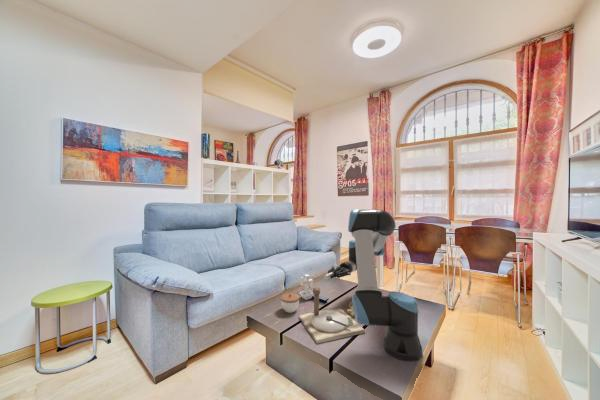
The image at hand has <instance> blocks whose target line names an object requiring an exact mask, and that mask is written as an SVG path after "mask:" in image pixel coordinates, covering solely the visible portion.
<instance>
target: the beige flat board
mask: <svg viewBox="0 0 600 400" xmlns="http://www.w3.org/2000/svg"><path fill="white" fill-rule="evenodd" d="M329 310H330V311H336V312H339V313H342V314H343V315H345V316H346V317H347V319H348V326H349V327H346V328H345V329H344V330H342V331H338V332H324V331H321V330H318V329H316V328H315V327H313V326H312V324H311V316H312V315H313V314H314V312H309V313H303V314H299V317H298V318H299V321H301V323H302V324H303V326H304V327H305V329H306V330H307V331H308V333H309V334H310V335H311V337H312V338H313V340H314V342H315V343H316V344H322V343H326V342H331V341H334V340H340V339H343V338H348V337H352V336H357V335H361V334H364V333H366V331H365V330H366V329H364V328H363V327H362V325H361V324H359V323H358V322H357V321H356V320H355V319H353V318H351V316H350V314H349V315H348V314H347V312H345V311H344V310H343V309H342V308H341V307H338V308H331V309H329Z"/></svg>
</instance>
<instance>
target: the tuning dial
mask: <svg viewBox="0 0 600 400" xmlns="http://www.w3.org/2000/svg"><path fill="white" fill-rule="evenodd" d="M312 292H313V294H314V295H313V309H314V310H313V313H314V314H313V315H312V316H311V324H312V326H313V327H315V328H316V329H318V330H321V331H324V332H338V331H342V330H344V329H345V328H346V327H349V326H348V319H347V317H346V316H345V315H343V314H342V313H339V312H336V311H330V309H326V310H320V294H321V288H319V287H312Z"/></svg>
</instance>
